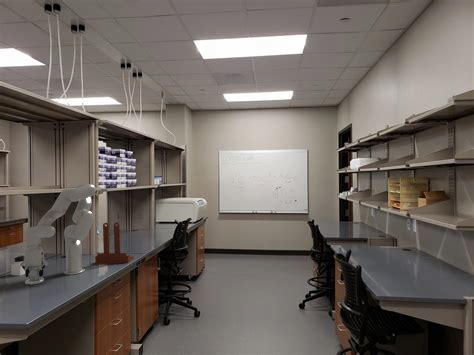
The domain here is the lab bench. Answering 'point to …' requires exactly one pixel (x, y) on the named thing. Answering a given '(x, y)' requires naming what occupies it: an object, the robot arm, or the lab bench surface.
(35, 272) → the white light bulb
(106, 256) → the twin post bracket
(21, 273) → the medicine bottle
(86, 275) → the lab bench surface
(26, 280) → the shallow grey dish
